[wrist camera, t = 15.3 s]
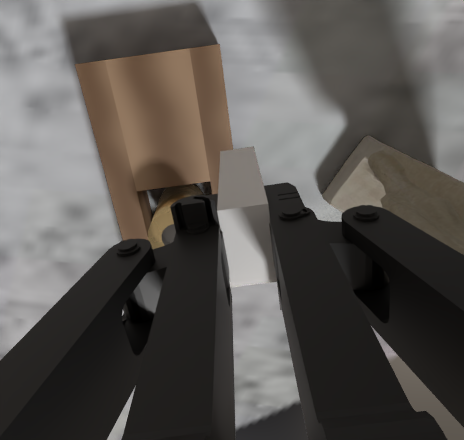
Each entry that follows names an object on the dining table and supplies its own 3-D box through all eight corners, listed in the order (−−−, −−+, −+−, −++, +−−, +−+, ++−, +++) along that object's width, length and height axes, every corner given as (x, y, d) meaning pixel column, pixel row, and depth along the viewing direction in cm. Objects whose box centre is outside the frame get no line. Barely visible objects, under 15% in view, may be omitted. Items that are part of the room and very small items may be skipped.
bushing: (202, 179, 40) (200, 208, 33) (209, 222, 42) (208, 258, 35) (155, 185, 40) (142, 215, 33) (164, 228, 42) (153, 265, 35)
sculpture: (299, 182, 40) (481, 453, 13) (349, 116, 38) (704, 281, 10) (401, 248, 44) (706, 566, 17) (452, 192, 42) (910, 459, 14)
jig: (218, 45, 35) (219, 44, 31) (245, 254, 44) (248, 272, 40) (89, 63, 35) (74, 64, 31) (142, 268, 44) (136, 287, 40)
